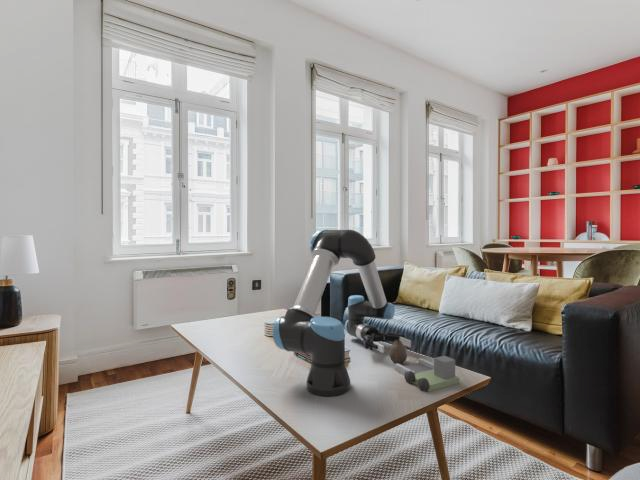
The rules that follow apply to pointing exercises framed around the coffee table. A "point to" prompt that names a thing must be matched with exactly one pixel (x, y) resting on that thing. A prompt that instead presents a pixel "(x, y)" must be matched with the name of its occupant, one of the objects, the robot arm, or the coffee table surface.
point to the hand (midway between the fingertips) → (397, 346)
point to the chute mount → (415, 367)
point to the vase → (398, 352)
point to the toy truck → (435, 375)
